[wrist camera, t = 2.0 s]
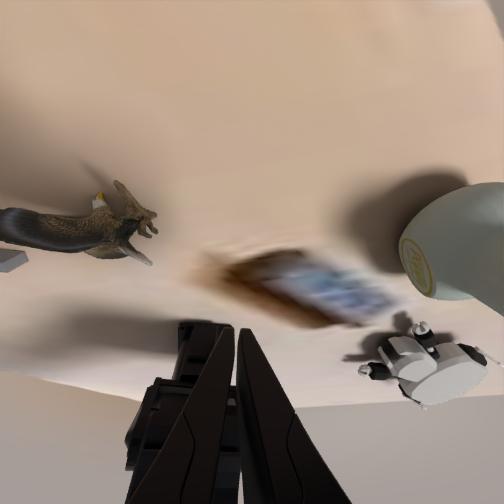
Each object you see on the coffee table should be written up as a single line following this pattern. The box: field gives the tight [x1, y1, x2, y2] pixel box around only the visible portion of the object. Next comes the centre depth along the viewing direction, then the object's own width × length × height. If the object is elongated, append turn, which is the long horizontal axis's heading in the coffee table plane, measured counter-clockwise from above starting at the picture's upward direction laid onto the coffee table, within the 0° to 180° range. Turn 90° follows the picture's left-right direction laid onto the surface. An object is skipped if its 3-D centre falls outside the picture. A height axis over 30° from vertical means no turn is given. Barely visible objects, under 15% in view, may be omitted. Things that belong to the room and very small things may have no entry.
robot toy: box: [358, 321, 504, 410], centre depth 29 cm, size 12×4×15 cm
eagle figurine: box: [0, 180, 158, 266], centre depth 16 cm, size 8×7×9 cm
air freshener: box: [399, 182, 504, 316], centre depth 16 cm, size 11×8×10 cm
